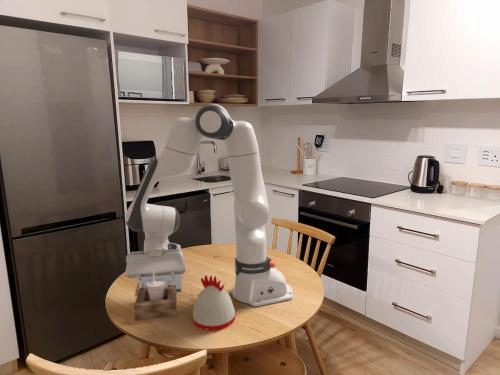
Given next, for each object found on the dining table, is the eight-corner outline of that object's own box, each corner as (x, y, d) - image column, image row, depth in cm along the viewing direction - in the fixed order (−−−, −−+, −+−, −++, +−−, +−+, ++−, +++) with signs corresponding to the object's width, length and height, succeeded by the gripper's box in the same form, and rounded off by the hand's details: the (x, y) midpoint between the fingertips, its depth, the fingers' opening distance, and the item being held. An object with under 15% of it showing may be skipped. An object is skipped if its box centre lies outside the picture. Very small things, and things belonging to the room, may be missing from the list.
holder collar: (176, 297, 135) (176, 284, 134) (175, 316, 122) (175, 302, 121) (140, 300, 133) (139, 287, 132) (135, 320, 120) (134, 306, 119)
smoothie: (146, 305, 129) (144, 268, 126) (165, 302, 131) (163, 265, 129) (148, 314, 123) (146, 275, 120) (167, 310, 125) (165, 272, 123)
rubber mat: (181, 276, 152) (181, 274, 152) (181, 291, 139) (180, 288, 139) (141, 279, 149) (141, 277, 149) (137, 294, 137) (137, 292, 136)
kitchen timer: (205, 304, 130) (204, 265, 127) (241, 312, 125) (240, 270, 122) (184, 325, 117) (182, 282, 114) (223, 334, 112) (222, 289, 109)
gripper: (125, 248, 128) (122, 287, 121) (184, 244, 132) (185, 282, 124) (128, 255, 134) (125, 293, 126) (184, 252, 137) (185, 288, 129)
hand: (155, 287), depth 125 cm, fingers open, 8 cm apart
